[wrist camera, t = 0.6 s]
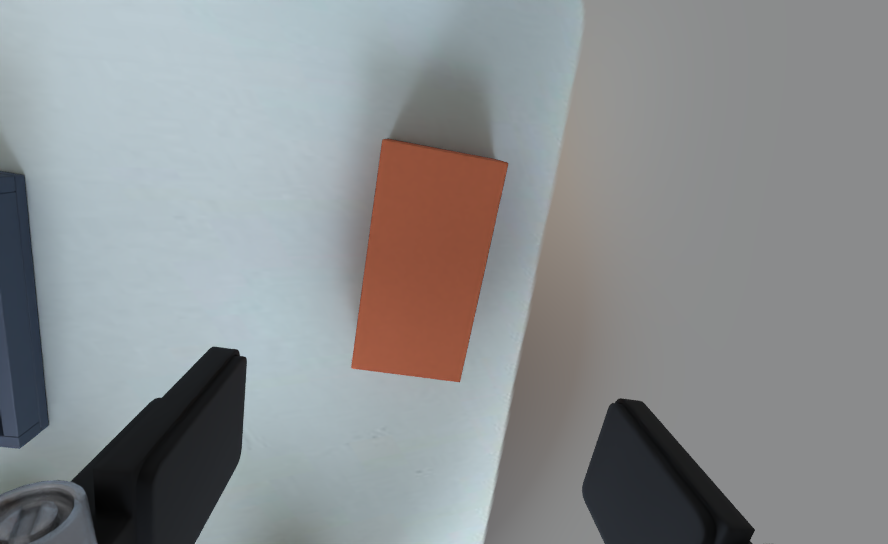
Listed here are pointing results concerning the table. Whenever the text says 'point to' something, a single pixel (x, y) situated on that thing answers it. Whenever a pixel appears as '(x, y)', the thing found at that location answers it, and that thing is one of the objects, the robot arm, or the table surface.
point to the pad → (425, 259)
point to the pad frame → (18, 323)
